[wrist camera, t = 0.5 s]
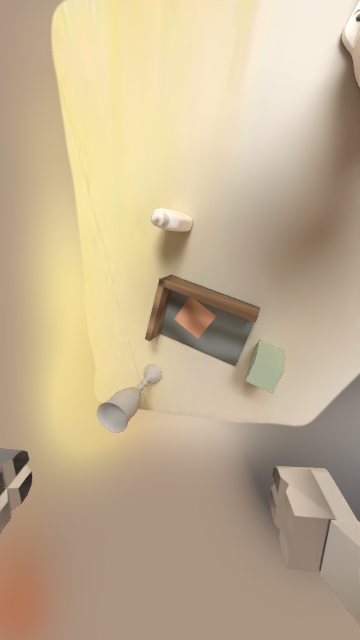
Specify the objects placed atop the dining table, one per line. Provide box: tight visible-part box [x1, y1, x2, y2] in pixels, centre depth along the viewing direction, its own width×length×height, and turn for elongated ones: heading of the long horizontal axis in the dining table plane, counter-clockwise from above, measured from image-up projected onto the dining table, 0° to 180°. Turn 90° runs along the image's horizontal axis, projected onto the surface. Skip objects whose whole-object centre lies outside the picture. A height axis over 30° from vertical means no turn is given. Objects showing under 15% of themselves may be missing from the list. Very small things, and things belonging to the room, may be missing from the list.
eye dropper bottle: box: [151, 208, 193, 232], centre depth 46 cm, size 4×6×12 cm
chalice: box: [97, 364, 162, 433], centre depth 57 cm, size 7×7×18 cm
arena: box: [145, 275, 260, 366], centre depth 53 cm, size 14×20×6 cm
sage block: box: [246, 341, 284, 393], centre depth 49 cm, size 5×5×9 cm
